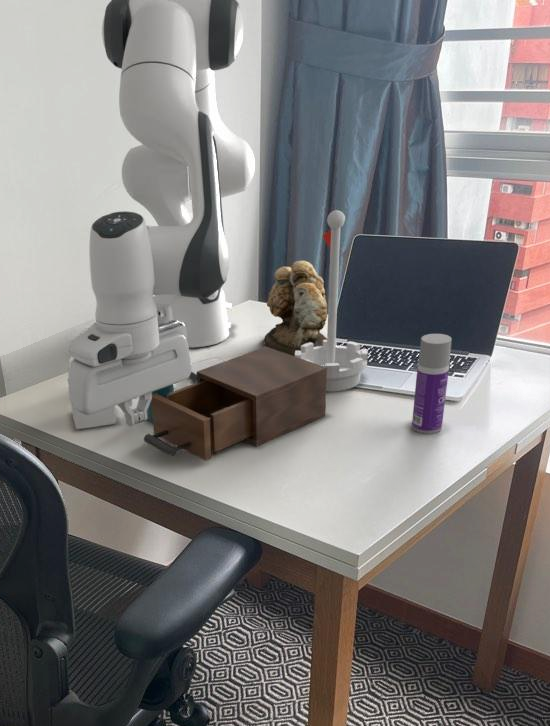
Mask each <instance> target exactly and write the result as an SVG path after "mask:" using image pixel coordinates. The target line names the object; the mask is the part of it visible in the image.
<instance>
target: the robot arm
mask: <svg viewBox="0 0 550 726" xmlns="http://www.w3.org/2000/svg"><path fill="white" fill-rule="evenodd" d="M244 27H245V26H244V19H243V15H242V12H241V9H240V3H239V2H238V1H237V0H110V1H109V3H107V5H106V8H105V11H104V16H103V20H102V25H101V37H102V44H103V47H104V49H105V54H106V57H107V59H108V60H109V61H110V63H111V64H112V65H113V66H114V68H118V69H121V71H120V80H119V92H118V107H119V115H120V119H121V121H122V123H123V125H124V127H125V128H126V131H128V133H129V134H130V135H131V136H132V137H133V138H134V139H135V140H136V141H138V142H139V143H140V145H137V146H134V147H130V148H129V150H128V151H127V153H126V154H125V157H124V158H123V160H122V165H121V180H122V184H123V186H124V189H125V191H126V193H127V194H128V196H130V198H132V199H133V200H134V201H135V202H137V203H138V204H140V205H141V206H142V207H144V208H145V209H146V210H147V211H148V212H149V214H150V215H151V217H152V218H153V219H154V220H155V222H156V224H157V225H147V223H146V220H145V218H144V217H143V215H141V214H139V213H137V212H134V211H124V210H123V211H114V212H111V213H108V214H105V215H103V216H101V217H99V218H97V219H96V220H95V221H94V222H93V223H92V224H91V227H90V230H89V231H90V233H89V249H88V251H89V274H90V284H91V289H92V291H93V294H94V298H95V302H96V305H95V306H96V307H95V314H94V317H95V322H94V323H92V325H91V326H90V327H87V329H86V330H84V331H85V332H83V331H82V332H83V333H82V332H81V333H82V334H81V335H80V334H79V335H78V336H77V337H75V338H74V339H72V340H71V341H70V342H69V343H68V345H67V353H68V355H69V356H70V358H71V357H73V358H74V360H73V361H72V362H71V364H70V365H69V366H68V371H67V384H68V383H69V387H68V393H69V394H68V395H69V400H70V401H69V402H70V406H71V405H72V406H73V407H74V408H75V409H76V410H78V411H79V412H81V413H83V414H85V415H91V414H93V413H96V412H99V411H101V410H104V409H107V408H110V407H112V406H114V407H115V406H118V407H119V409H120V410H121V411H122V412H123V414H124V418H125V419H124V420H125V423H126V424H127V426H128V425H129V426H130V427H132V426H135V425H138V424H140V423H142V422H145V421H148V419H147V409H148V407H149V405H150V402H151V400H152V392H153V391H156V390H159V389H161V388H164V387H167V386H169V385H172V384H173V385H175V384H177V383H180V382H183V381H185V380H188V379H189V378H190V377H189V376H190V374H191V372H192V365H191V364H192V360H191V359H192V358H191V353H190V349H191V348H193V349H194V348H203V347H204V348H205V347H208V346H213V345H216V344H219V343H222V342H224V341H226V340H227V339H228V338H229V337H230V336H231V335H230V334H231V333H230V329H231V328H232V323H231V321H230V320H229V318H228V310H227V308H232V303H229V302H226V296H225V292H224V290H223V288H222V287H223V286H224V284H226V282H227V279H228V274H229V269H230V257H229V250H228V245H227V240H226V235H225V227H224V226H225V225H224V216H223V202H222V198H227V197H229V196H233V195H236V194H240V193H242V192H245V191H246V190H247V189H248V187H250V185H251V182H252V180H253V178H254V175H255V171H256V170H255V169H256V159H255V156H254V152H253V150H252V147H251V146H250V145H249V143H248V142H247V140H245V139H244V138H242V137H240V136H239V135H237V134H235V133H234V132H232V130H230V128H228V127H227V125H226V124H225V123H224V122H223V120H222V117H221V116H220V114H219V110H218V104H217V94H216V71H220V70H224V69H227V68H230V66H231V65H232V64H233V63H234V62H235V61H236V60H237V57H238V53H239V52H240V49H241V46H242V44H243V39H244V32H245V31H244V30H245V29H244ZM189 201H191V210H192V212H191V211H189V209H188V208H187V206H186V203H187V202H189ZM136 398H138V401H137V404H136V408H133V409H131V406H133V400H134V399H136Z"/></svg>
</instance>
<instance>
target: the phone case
mask: <svg viewBox="0 0 550 726" xmlns="http://www.w3.org/2000/svg"><path fill="white" fill-rule="evenodd" d="M224 361H226V360H225V359H223V358H221V357H216V356H215V357H210V358H207V359H203V360H199V361H196V362H191V365H192V372H191V374H190V376H189V378H190V379H191V380H193V381H195V382H197V371H200V370H203V369H205V368H208V367H211V366H214V365H216V364H219V363H222V362H224Z"/></svg>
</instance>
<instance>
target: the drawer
mask: <svg viewBox="0 0 550 726" xmlns="http://www.w3.org/2000/svg"><path fill="white" fill-rule="evenodd" d="M166 395H167V399H166V398H164V397H162V396H160V395H158V394H155V395H152V400H151V405H152V417H153V422H152V428H153V434H150V433H146V434H145V435H144V437H143V442H144V443H146V444H147V445H150V446H151V447H153V448H154V449H157V450H159V451H160V452H162V453H164V454H166V455H167V456H170V457H172V458H173V457H175V456H177V454H178V452H180V451H182V450H184V451H185V452H187V453H190V454H191V455H193V456H195V457H197V458H199V459H201V460H203V461H205V462H207V461H209V460H212V452H214V453H216V452H218V451H220V450H223V449H225V448H227V447H229V446H232V445H235V444H237V443H239V442H241V441H244V439H246V438H248V437H251V436H253V404H252V399H250V398H247V397H245V396H242V395H240V394H238V393H235V392H233V391H230V390H228V389H226V388H223V387H221V386H218V385H216V384H214V383H211V382H209V381H206V380H202V381H200V382H197V381H196V382H195V383H192V384H189V385H186V386H184V387H182V388H179V389H176V390H174V391H173V392H170V393H168V394H166ZM160 438H161V439H163V440H161V439H160ZM164 440H165V441H164ZM169 443H170V444H169ZM171 444H172V445H171ZM173 445H174V446H173Z"/></svg>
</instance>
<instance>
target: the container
mask: <svg viewBox="0 0 550 726" xmlns="http://www.w3.org/2000/svg"><path fill="white" fill-rule="evenodd" d="M451 349H452V337H451V336H449V335H447V334H444V333H428V334H424V335H423V336H421V337H420V346H419V353H418V361H417V368H416V380H415V388H414V397H413V398H414V399H413V408H412V409H413V410H412V417H411V419H412V420H411V428H412V430H413V431H415V432H416V433H419V434H425V435H426V434H427V435H428V434H429V435H430V434H436V433H439V432H440V431H442V428H443V422H444V421H443V420H444V412H445V404H446V396H447V389H448V388H447V387H448V380H449V371H450V361H451V351H452V350H451Z"/></svg>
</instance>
